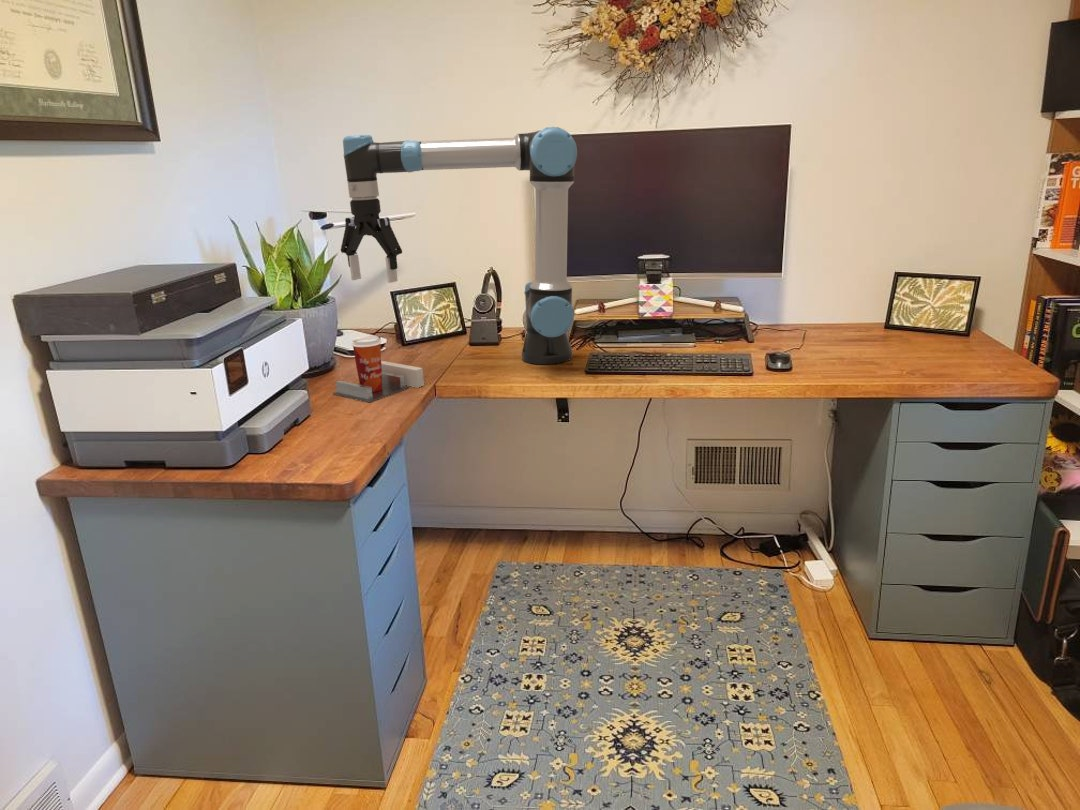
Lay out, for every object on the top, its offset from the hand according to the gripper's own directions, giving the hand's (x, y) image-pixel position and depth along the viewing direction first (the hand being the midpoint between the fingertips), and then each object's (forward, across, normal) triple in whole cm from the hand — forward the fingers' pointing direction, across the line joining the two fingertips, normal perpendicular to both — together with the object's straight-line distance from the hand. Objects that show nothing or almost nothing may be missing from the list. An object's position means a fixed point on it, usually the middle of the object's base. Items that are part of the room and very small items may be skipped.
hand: (374, 280), depth 205 cm
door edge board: (+28, +4, 0) cm, 28 cm away
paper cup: (+28, +4, -9) cm, 29 cm away
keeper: (+28, +4, -9) cm, 30 cm away
